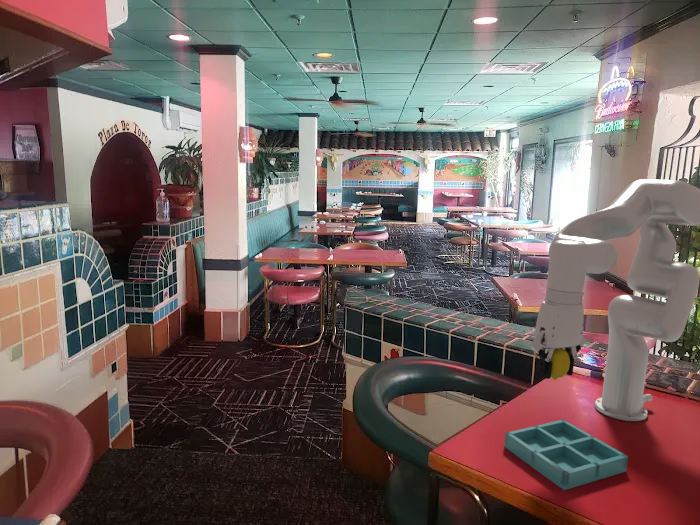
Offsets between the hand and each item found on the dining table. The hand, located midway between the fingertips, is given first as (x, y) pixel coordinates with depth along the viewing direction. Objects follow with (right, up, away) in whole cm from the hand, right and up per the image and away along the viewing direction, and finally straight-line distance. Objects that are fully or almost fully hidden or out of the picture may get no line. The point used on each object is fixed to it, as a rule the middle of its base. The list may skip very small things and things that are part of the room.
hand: (555, 374), depth 118 cm
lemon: (0, -1, 0) cm, 2 cm away
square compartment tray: (+1, -18, -2) cm, 19 cm away
